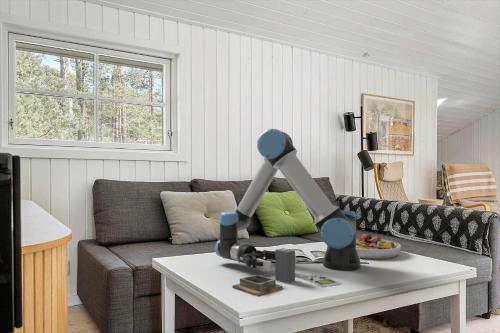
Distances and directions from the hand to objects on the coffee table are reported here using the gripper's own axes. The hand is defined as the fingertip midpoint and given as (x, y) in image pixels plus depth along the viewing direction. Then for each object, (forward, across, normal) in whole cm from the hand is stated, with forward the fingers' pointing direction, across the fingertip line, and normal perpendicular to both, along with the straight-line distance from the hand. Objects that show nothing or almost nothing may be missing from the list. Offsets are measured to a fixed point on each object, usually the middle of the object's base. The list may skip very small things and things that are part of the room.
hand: (283, 262), depth 146 cm
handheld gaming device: (+9, -10, -7) cm, 15 cm away
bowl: (-5, -65, -7) cm, 65 cm away
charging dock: (0, +14, -6) cm, 15 cm away
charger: (0, 0, -6) cm, 6 cm away
